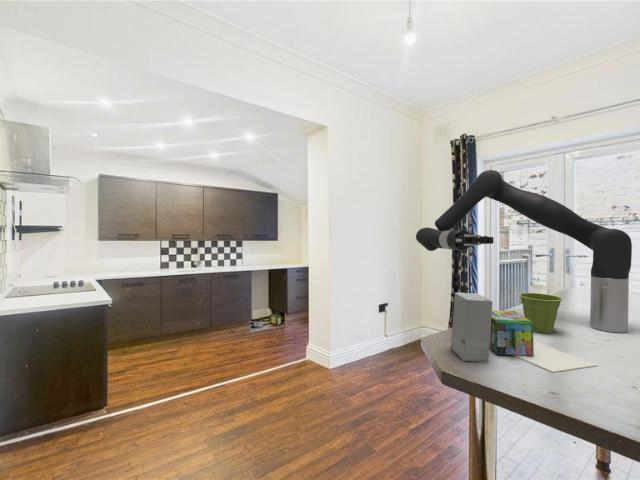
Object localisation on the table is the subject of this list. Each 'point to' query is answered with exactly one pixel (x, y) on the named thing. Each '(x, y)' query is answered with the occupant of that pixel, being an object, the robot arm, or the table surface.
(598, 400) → the table surface
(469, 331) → the skincare box
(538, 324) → the plant pot
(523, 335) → the chalk box
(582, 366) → the mat
